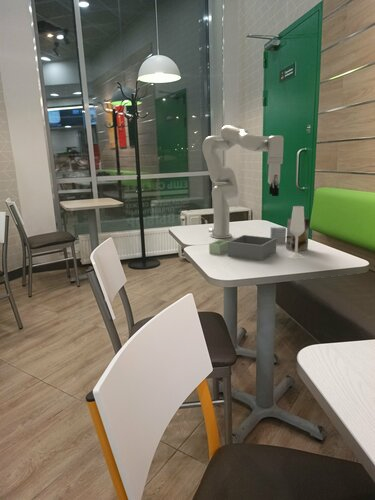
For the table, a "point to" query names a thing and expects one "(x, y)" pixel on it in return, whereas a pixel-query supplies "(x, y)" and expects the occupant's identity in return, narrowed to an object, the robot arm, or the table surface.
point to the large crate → (252, 247)
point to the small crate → (218, 247)
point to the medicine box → (278, 234)
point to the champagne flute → (297, 227)
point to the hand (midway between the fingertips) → (273, 195)
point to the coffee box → (301, 239)
